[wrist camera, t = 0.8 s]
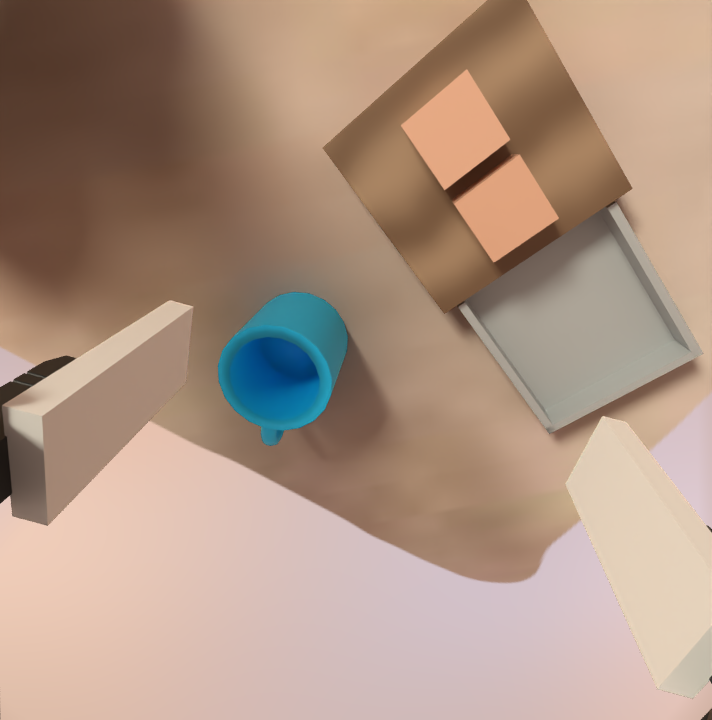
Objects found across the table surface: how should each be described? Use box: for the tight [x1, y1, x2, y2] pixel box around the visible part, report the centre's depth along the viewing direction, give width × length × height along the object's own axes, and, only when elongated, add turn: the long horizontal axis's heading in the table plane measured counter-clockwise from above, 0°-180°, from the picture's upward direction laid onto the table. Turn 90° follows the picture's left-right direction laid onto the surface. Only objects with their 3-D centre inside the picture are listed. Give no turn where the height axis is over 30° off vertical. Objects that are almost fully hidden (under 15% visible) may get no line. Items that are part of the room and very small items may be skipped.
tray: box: [458, 201, 704, 434], centre depth 36 cm, size 13×12×3 cm
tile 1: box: [452, 154, 559, 262], centre depth 30 cm, size 4×4×2 cm
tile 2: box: [401, 69, 510, 190], centre depth 29 cm, size 4×4×2 cm
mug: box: [218, 292, 348, 446], centre depth 38 cm, size 12×8×8 cm
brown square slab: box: [323, 0, 632, 314], centre depth 32 cm, size 14×14×4 cm
